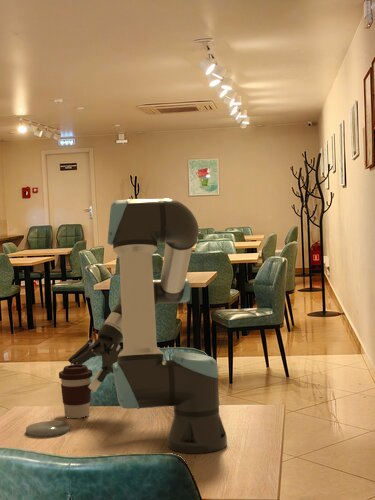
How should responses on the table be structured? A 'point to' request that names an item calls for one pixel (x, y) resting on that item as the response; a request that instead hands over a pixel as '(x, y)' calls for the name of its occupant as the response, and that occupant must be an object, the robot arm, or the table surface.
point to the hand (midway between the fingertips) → (77, 386)
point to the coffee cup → (76, 390)
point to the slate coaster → (47, 429)
